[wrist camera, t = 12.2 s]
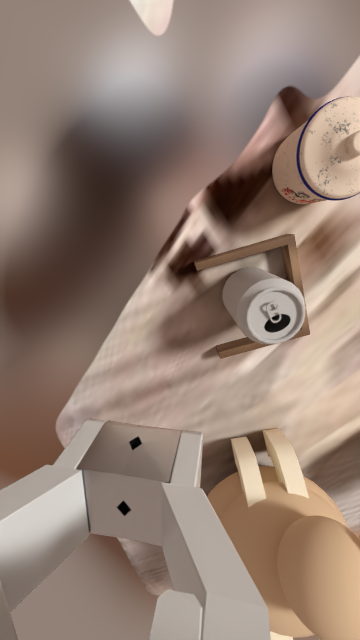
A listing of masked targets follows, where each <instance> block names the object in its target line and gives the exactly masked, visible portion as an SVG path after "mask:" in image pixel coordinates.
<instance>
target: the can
mask: <svg viewBox="0 0 360 640" xmlns="http://www.w3.org/2000/svg"><path fill="white" fill-rule="evenodd" d="M222 298H223V303H224V306H225V307H226V309H227V310H228V312H229V313H230V315H231V316H232V318H233V319H234V321H235V322H236V323H237V325H238V326H239V328H240V329H241V331H242V332H243V333H244V335H245V336H247V337H248V338H249V339H251V340H252V341H254V342H257V343H260V344H278V343H282V342H285V341H287V340H289V339H290V338H292V337H293V336H294V335H295V334H296V333H297V332H298V331H299V330H300V328H301V327H302V325H303V323H304V319H305V313H306V312H305V302H304V297H303V296H302V294H301V292H300V290H299V289H298V288H297V287H296V286H295V285H294V284H292V283H291V282H289V281H287V280H284V279H282V278H280V277H278V276H275V275H273V274H271V273H269V272H266V271H264V270H262V269H259V268H256V267H246V268H243V269H239V270H238V271H236V272H235V273H233V274H232V275H231V276H230V277H229V278H228V280H227V281H226V283H225V285H224V288H223V294H222Z"/></svg>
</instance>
